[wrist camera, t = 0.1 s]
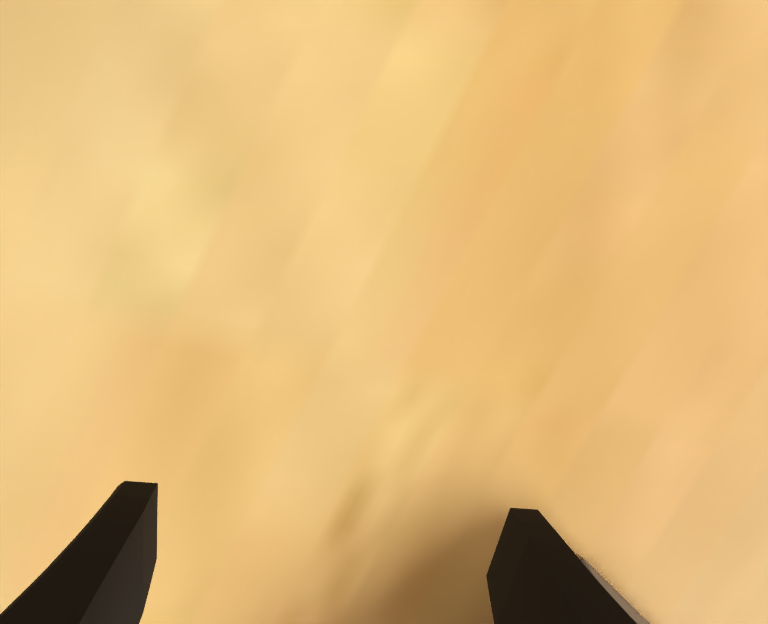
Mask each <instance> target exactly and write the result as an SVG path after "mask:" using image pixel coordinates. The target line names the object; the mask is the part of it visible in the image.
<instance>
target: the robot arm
mask: <svg viewBox="0 0 768 624" xmlns="http://www.w3.org/2000/svg"><path fill="white" fill-rule="evenodd" d="M157 496H158V483H145V482H131V481H124V482H123V483H121V484H120V485H119V486H118V487H117V488H116V489H115V491H114V492H113V493H112V495H111V496H110V497H109V498H108V500H107V501H106V502H105V503H104V505H103V506H102V507H101V508H100V509H99V511H98V512H97V513H96V514H95V515H94V517H93V518H92V519H91V520H90V521H89V522H88V524H87V525H86V526H85V527H84V528H83V529H82V530H81V532H80V533H79V534H78V535H77V536H76V537H75V538H74V539H73V541H72V542H71V543H70V544H69V545H68V546H67V547H66V548H65V549H64V550H63V551H62V552H61V554H60V555H59V556H58V557H57V558H56V559H55V560H54V561H53V562H52V563H51V564H50V565H49V566H48V568H47V569H46V570H45V571H44V572H43V573H42V574H41V575H40V576H39V577H38V578H37V579H36V580H35V581H34V582H33V583H32V584H31V585H30V586H29V587H28V588H27V589H26V590H25V591H24V592H23V593H22V594H21V595H20V596H19V597H17V598H16V599H15V600H14V601H13V602H12V603H11V604H10V605H9V606H8V607H7V608H6V609H5V610H4V611H3V612H2V613H1V614H0V624H139V622H140V619H141V617H142V614H143V611H144V607H145V603H146V599H147V595H148V591H149V588H150V583H151V579H152V575H153V571H154V567H155V563H156V559H157ZM486 576H487V582H488V589H489V595H490V601H491V607H492V612H493V618H494V623H495V624H637V623H636V622H635V621H634V620H633V619H632V618H631V617H630V616H629V615H628V613H627V612H626V611H625V610H624V609H623V608H622V607H621V606H620V605H619V604H618V603H617V602H616V600H615V599H614V598H613V597H612V596H611V595H610V594H609V593H608V592H607V590H606V589H605V588H604V587H603V586H602V585H601V584H600V583H599V581H598V580H597V579H596V578H595V577H594V576H593V575H592V573H591V572H590V571H589V570H588V569H587V568H586V566H585V565H584V564H583V563H582V562H581V560H580V559H579V558H578V557H577V556H576V555H575V553H574V552H573V551H572V550H571V549H570V547H569V546H568V545H567V544H566V543H565V542H564V540H563V539H562V538H561V537H560V536H559V534H558V533H557V532H556V531H555V530H554V528H553V527H552V526H551V525H550V524H549V522H548V521H547V520H546V519H545V518H544V517H543V515H542V514H541V513H540V512H539V511H538V510H533V509H519V508H510V510H509V513H508V516H507V519H506V522H505V525H504V527H503V530H502V533H501V536H500V539H499V542H498V544H497V547H496V550H495V553H494V556H493V558H492V561H491V564H490V567H489V570H488V573H487V575H486Z"/></svg>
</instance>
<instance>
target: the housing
mask: <svg viewBox="0 0 768 624" xmlns="http://www.w3.org/2000/svg"><path fill="white" fill-rule="evenodd" d="M581 562H582V563H583V564H584V565H585V566H586V568H587V569H588V570H589V571H590V572H591V573H592V575H593V576H594V577H595V578H596V579H597V580H598V581H599V583H600V584H601V585H602V586H603V587H604V588H605V589H606V590H607V592H608V593H609V594H610V595H611V596H612V597H613V598H614V599H615V600H616V602H617V603H618V604H619V605H620V606H621V607H622V608H623V609H624V610H625V611H626V612H627V613H628V615H629V616H630V617H631V618H632V619H633V620H634V621H635V622H636V623H637V624H649V623H648V622H647V621H646V620H645V619H644V618H643V617H642V616H641V615H640V614H639V613H638V612H637V611H636V610H635V609H634V608H633V607H632V606H631V605H630V604H629V603H628V602H627V601H626V600H625V599H624V598H623V597H622V596H621V595H620V594H619V593H618V592H617V591H616V590H615V589H614V588H613V587H612V586H611V585H610V584H609V583H608V582H607V581H606V580H605V579H604V578H603V577H602V576H601V575H600V574H599V573H598V572H597V571H596V570H594V569H593V568H592V567H591V566H590V565H589V564H588V563H587V562H586V561H585V560H584V559H582V560H581Z"/></svg>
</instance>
